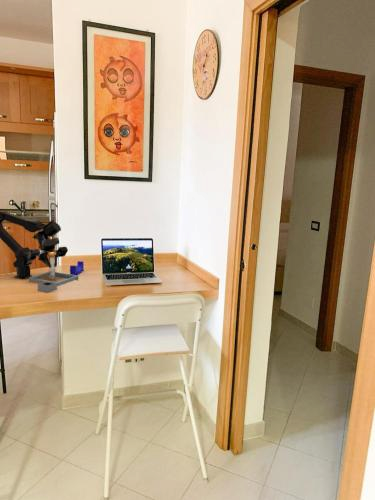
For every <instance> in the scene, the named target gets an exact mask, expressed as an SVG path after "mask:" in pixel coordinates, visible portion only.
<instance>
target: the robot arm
mask: <svg viewBox="0 0 375 500" xmlns="http://www.w3.org/2000/svg"><path fill="white" fill-rule="evenodd" d="M4 221H6V222H8V223H12V224H15V225H18V226H20V227H23V229H25V230H26V231H28V232H29V233H34V235H33V236H32V239H34V240H37V243H38V245H39V246H38V248H34V249H33V248H32V249H30V248H29V247H28V246H27V247H23V246H22V245H21V244H20V243H19V242H18V241H17V240H16V239H15V238H14V237H13V236H12V235H11V234H10V233H9V232H8V231H7V230H6V229H5V228H4V225H3V222H4ZM61 231H62V227H61V226H60V224H58V223H57V222H55V221H54V219H52V220H50V221H48V223H42V221H41V220H39V219H33V218H32V219H30V218H25V217H24V216H23V217H22V216H20V215H17V214H14V213H12V212H9V211H7V210H3V211H0V240H1V241H2V242H3V243H4V244H5V245H6V246H7V247H8V248H9V249H10V250H11V251H12V252H13V253H14V257H15V259H16V260H15V261H14V262H13V263H12V266H13V267H14V268H16V275H14V278H16V279H22V280H25V279H29V278H30V277H33V275H31V268H30V267H31V266H30V265H32V264H33V262H34V261H35V260H36V259H37V257H38V261H41V262H42V263H44V264H45V265H46V266H47V267H48V268H51V265H50V262H49V256H48V252H49V251H55V252H56V255H55V268H57V267H58V266H57V265H58V258H61V257H65V256H67V253H68V251H69V250H68V247H67V246H59V247H58V248H57V249H56V246H57V245H59V244H60V240H59V237H54V236H56V235H57V234H58V233H59V232H61ZM50 237H51V238H50ZM52 237H54V238H52Z"/></svg>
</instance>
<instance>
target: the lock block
mask: <svg viewBox="0 0 375 500" xmlns="http://www.w3.org/2000/svg"><path fill="white" fill-rule="evenodd" d="M48 281H49V280H47V281H46V282H43V283H38V284H37V291H38V292H43V293H51V292H54V291H56V290H58V286H57V283H53V282H54V281H52V282H48Z"/></svg>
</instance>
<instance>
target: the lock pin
mask: <svg viewBox="0 0 375 500" xmlns="http://www.w3.org/2000/svg"><path fill="white" fill-rule="evenodd" d="M55 255H56V252H55V251H49V252H48V255H47V257H48V260H49V262H50V265H51V268H49V267H48V268H49V271H48V272H49V275H48V276H49V279H50V280H53V279H55V278H56V277H55V272H56V267H55Z"/></svg>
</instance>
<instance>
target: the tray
mask: <svg viewBox="0 0 375 500" xmlns="http://www.w3.org/2000/svg"><path fill="white" fill-rule="evenodd" d="M48 276H50V275H49V271H47V272H43V273H40V274H38V275H32V277H29V278H28V282H32V283H38V284H40V283H43V282H46V281H48V282H53V283H57V287H59V286H62V285H65V284H68V283H70V282H73V281H79V275H71V274H70V273H64V272H58V271H55V278H61V279H62V278H63V280H59V281H57V282H56V281H51V280H46V279H42V278H45V277H48Z"/></svg>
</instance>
